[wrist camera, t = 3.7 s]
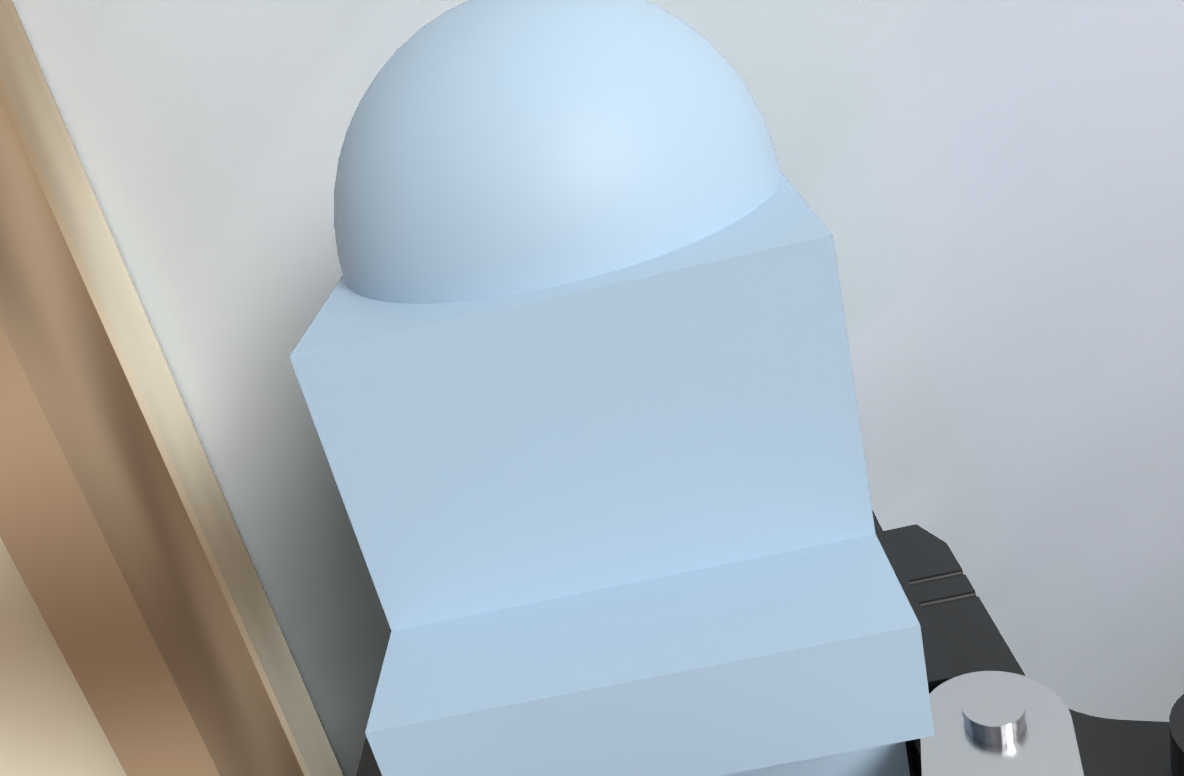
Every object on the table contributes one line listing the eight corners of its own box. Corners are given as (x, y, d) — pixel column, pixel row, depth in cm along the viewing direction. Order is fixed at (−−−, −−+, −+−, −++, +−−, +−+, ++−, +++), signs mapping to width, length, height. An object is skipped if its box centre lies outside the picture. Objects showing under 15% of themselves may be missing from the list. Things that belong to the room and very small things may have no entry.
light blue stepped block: (330, 22, 11) (114, 109, 6) (707, -72, 11) (830, -65, 6) (618, 943, 17) (637, 1411, 11) (874, 898, 16) (1013, 1358, 11)
